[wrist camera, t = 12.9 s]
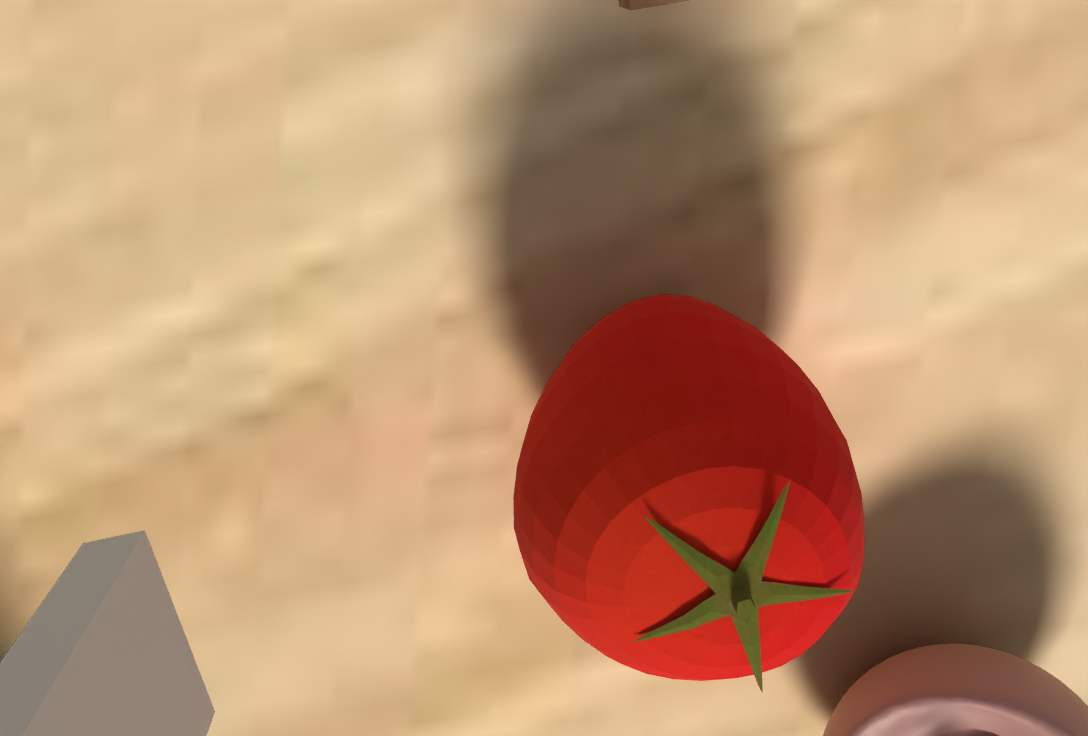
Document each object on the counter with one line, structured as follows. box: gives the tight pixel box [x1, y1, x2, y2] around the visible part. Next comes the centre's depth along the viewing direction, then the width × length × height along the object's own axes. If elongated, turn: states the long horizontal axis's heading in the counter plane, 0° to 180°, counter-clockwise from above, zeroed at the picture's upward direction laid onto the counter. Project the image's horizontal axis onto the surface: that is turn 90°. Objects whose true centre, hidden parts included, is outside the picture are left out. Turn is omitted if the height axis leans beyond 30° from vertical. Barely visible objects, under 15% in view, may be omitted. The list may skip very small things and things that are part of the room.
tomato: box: [514, 294, 865, 691], centre depth 35 cm, size 13×11×14 cm
